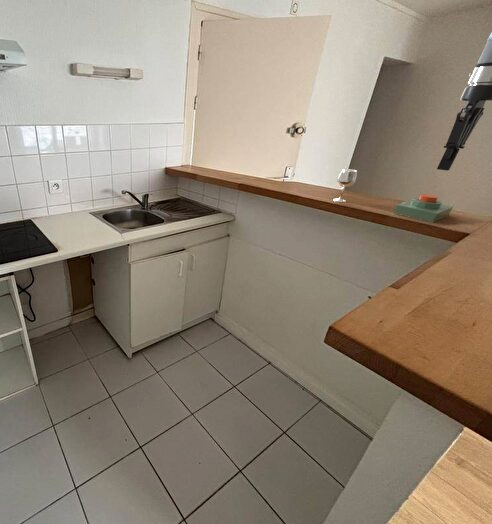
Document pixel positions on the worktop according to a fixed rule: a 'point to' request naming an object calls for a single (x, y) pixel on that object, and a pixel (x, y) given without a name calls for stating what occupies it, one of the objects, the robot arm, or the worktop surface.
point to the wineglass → (346, 181)
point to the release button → (428, 198)
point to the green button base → (423, 210)
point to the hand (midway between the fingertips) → (442, 169)
